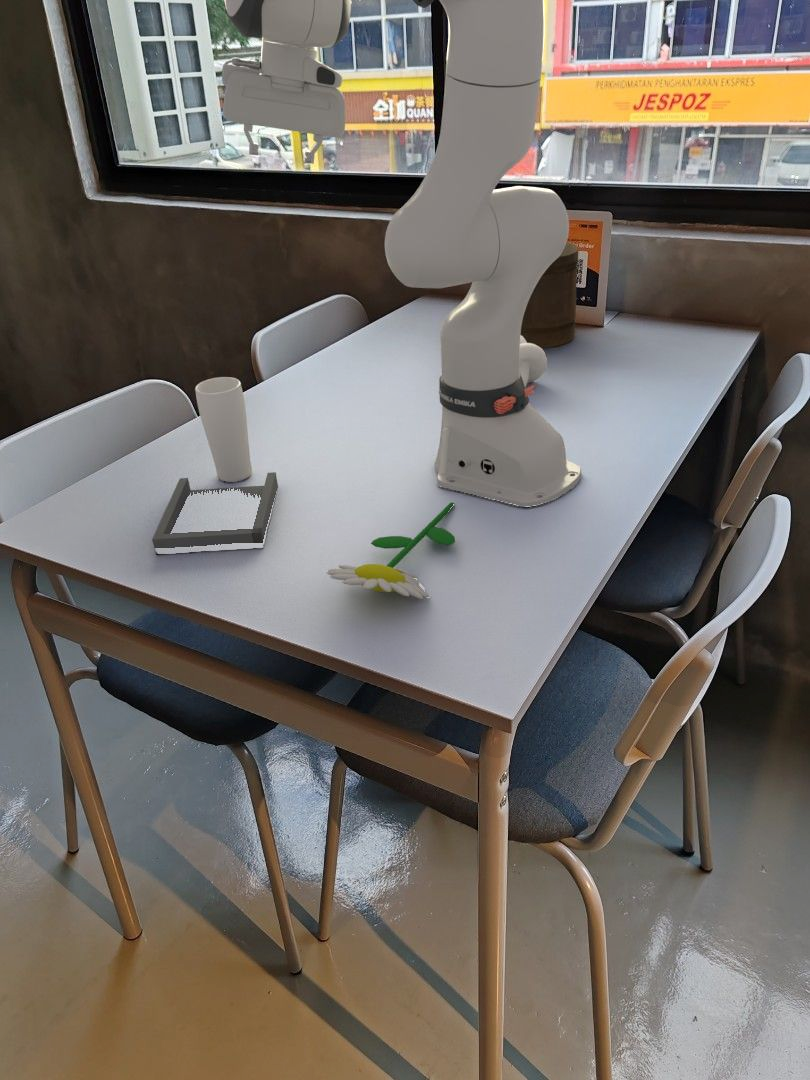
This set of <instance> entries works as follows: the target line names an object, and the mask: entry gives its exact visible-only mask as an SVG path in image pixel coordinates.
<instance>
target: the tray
mask: <svg viewBox="0 0 810 1080" xmlns="http://www.w3.org/2000/svg"><path fill="white" fill-rule="evenodd" d="M277 478H278V477H277V473H276V472H273V471H272V472H267V474H266V477H265V482H264V485H252V486H250V485H249V486H237V487H238V488H237V487H236V486H235V487H234V486H233V487H234V491H235V490H237V489H238V491H239V489H240V491H241V493H242V491H243V493H244V495H245V493H246V495H247V497H248V493H250V495H251V496H252V495H253V497H254V498H255V495H256V494H257V496H258V498H259V495H260V497H261V500H260V504H259V507H258V511H257V515H256V519H255V522H254V526H253V529H237V530H221V531H204V532H188V533H172V534H170V533H171V531H172V529H173V527H174V525H175V523H176V520H177V518H178V517H179V514H180V512H181V510H182V508H183V506H184V504H185V501H186V499H187V497H188V496H189V495H190V493H191V496H192V495H193V492H194V494H197V492H198V493H200V494H201V492H202V491H203V495H204V492H206V493H207V491H208V493H209V490H210V491H212V494H213V491H214V490H215V492H216V490H217V492H218V494H219V490H220V489H221V493H222V491H223V490H225V491H227V489H228V491H229V488H230V491H231V489H233V487H219V488H218V487H217V488H203V489H202V488H201V489H191V486H190V482H189V481H190V480H189V477H180V478H179V479H178V481H177V484H176V486H175V489H174V490H173V492H172V495H171V497H170V499H169V501H168V504H167V505H166V508H165V510H164V511H163V512H164V513H163V515H162V517H161V518H160V520H159V523H158V526H157V527H156V530H155V532H154V534H153V537H151V540H152V545H153V548H175V547H190V546H191V547H193V546H207V545H215V544H216V545H218V544H220V545H221V544H232V543H263V539H264V535H265V531H266V527H267V524H268V520H269V517H270V513H271V509H272V505H273V502H274V498H275V495H276V496H277V494H276V491H277V492H278V490H277V487H278V488H279V484H278V479H277ZM205 490H206V491H205ZM254 494H255V495H254ZM275 499H276V498H275ZM274 503H275V502H274Z"/></svg>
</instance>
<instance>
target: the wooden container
mask: <svg viewBox="0 0 810 1080" xmlns="http://www.w3.org/2000/svg"><path fill="white" fill-rule="evenodd" d="M578 264H579V246H577V245H576V244H574V243H572V242H568V241H567V242H566V245H565V247H564V250H563V251H562V253H561V255H560V256H559V257H558V258H557V259H556V260H555V261H554V262H553V263H552V264H551V265H550V266H549V267H548V268H547V270H546V271H545V272H544V273H543V275H542V276H541V278H540V279H539V281H538V283H537V285H536V286H535V288H534V290H533V292H532V294H531V297H530V299H529V301H528V304H527V307H526V309H525V312H524V316H523V320H522V326H521V336H523V337H524V339H525V340H526V342H527V343H532V344H535V345H537V346H539V347H540V348H541V349H544V348H545V349H547V347H548V348H554V346H555V347H559V346H562V345H565V344H567V343H570V342H571V341H572V340H573V339H574V337H575V331H576V330H575V329H576V315H577V314H576V312H577V282H578V281H577V279H578V278H577V276H578V275H577V274H578Z"/></svg>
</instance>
